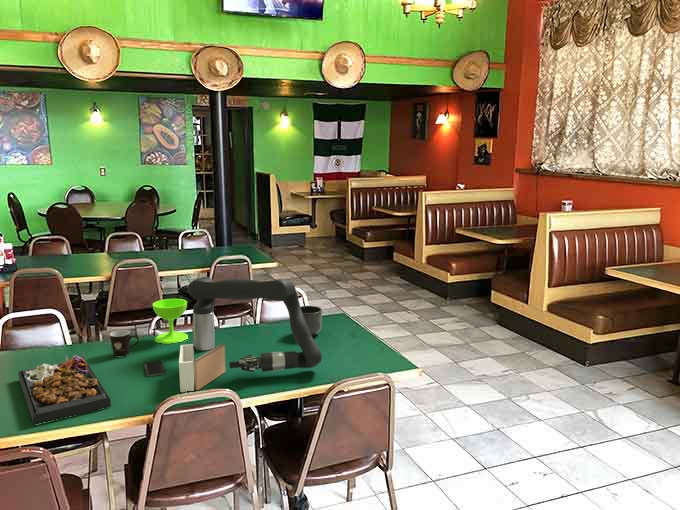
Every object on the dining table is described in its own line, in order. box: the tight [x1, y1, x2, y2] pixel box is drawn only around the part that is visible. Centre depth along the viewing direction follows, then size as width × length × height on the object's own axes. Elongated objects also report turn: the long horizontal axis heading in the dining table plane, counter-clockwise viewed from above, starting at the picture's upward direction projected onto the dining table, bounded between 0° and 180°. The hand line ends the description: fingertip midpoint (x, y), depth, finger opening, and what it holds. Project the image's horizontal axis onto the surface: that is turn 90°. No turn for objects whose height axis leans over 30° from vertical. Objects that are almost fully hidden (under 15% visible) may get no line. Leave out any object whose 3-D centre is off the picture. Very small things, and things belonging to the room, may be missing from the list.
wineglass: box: [152, 298, 189, 345], centre depth 270 cm, size 16×16×18 cm
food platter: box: [17, 350, 112, 426], centre depth 211 cm, size 45×25×10 cm, turn 35°
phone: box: [143, 359, 166, 377], centre depth 235 cm, size 8×1×15 cm
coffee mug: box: [109, 329, 140, 357], centre depth 250 cm, size 12×9×10 cm
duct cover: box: [194, 342, 226, 391], centre depth 222 cm, size 1×19×12 cm, turn 159°
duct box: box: [178, 343, 195, 394], centre depth 221 cm, size 5×20×12 cm, turn 14°
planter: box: [300, 305, 323, 337], centre depth 278 cm, size 14×14×13 cm
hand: (229, 365), depth 223 cm, fingers closed
